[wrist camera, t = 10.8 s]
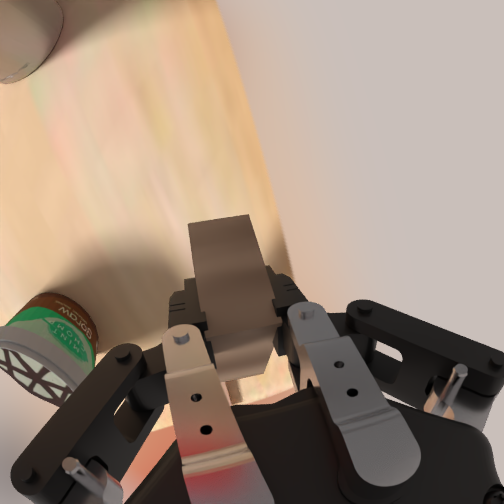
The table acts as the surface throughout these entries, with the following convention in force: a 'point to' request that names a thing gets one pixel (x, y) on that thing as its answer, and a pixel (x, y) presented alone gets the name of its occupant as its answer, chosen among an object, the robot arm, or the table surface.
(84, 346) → the food container
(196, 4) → the table surface
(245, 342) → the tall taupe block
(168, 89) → the table surface
